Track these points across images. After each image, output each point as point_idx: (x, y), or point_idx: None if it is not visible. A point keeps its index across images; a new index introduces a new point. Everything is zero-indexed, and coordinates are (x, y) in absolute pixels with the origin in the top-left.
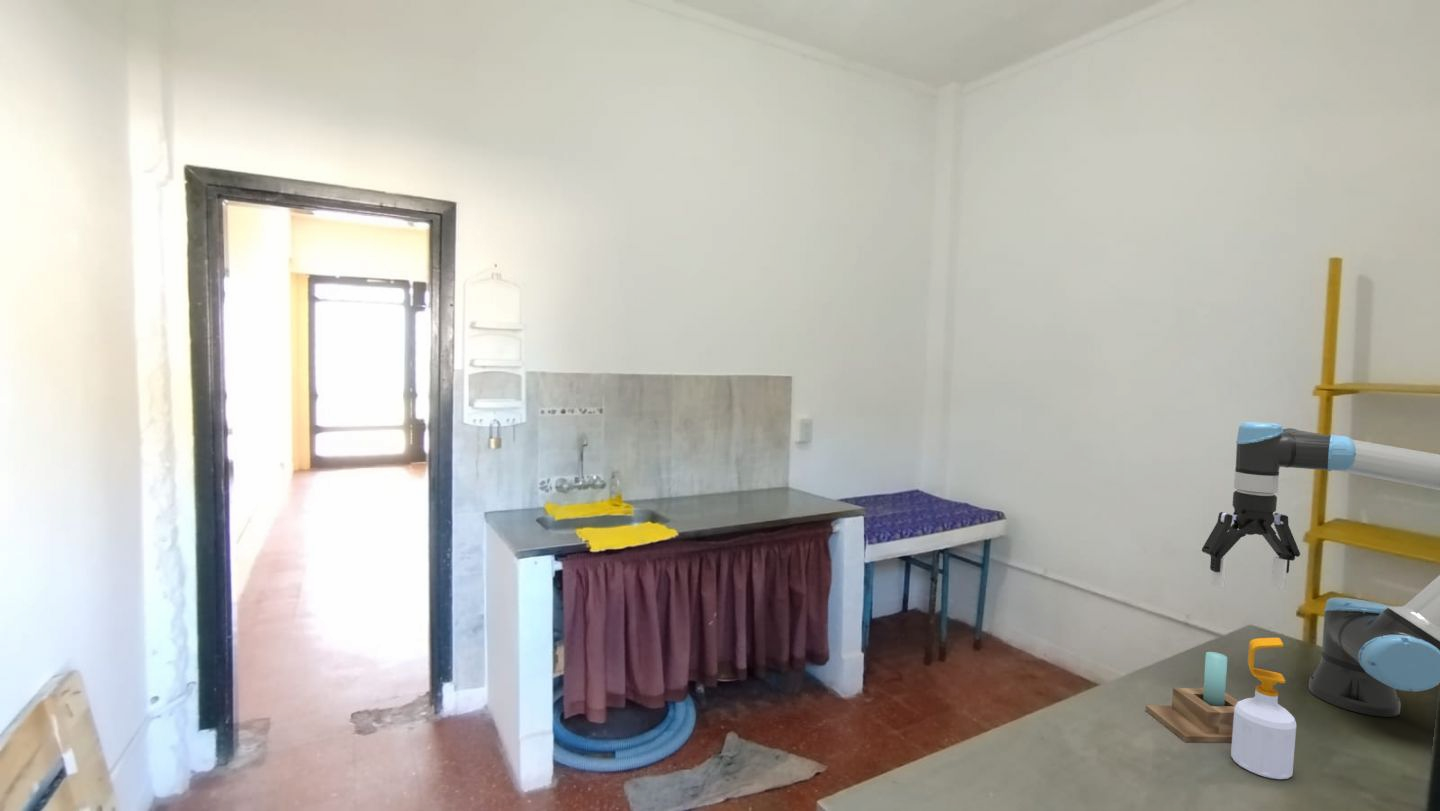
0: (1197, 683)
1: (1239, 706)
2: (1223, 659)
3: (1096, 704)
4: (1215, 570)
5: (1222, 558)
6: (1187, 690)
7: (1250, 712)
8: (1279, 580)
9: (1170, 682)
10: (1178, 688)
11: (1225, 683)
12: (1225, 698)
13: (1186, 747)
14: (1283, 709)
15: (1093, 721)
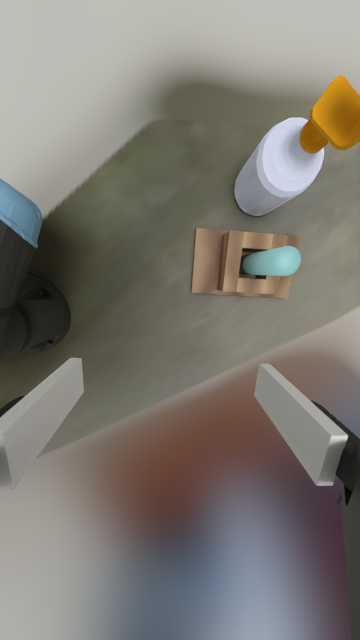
0: (181, 350)
1: (318, 170)
2: (288, 246)
3: (323, 310)
4: (317, 405)
5: (339, 445)
6: (265, 287)
7: (323, 148)
8: (69, 380)
9: (209, 353)
10: (272, 292)
11: (260, 252)
12: (236, 266)
13: (302, 227)
14: (287, 132)
15: (352, 279)
